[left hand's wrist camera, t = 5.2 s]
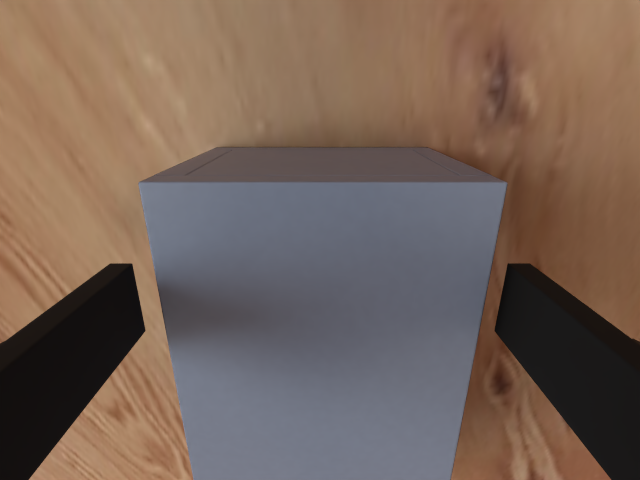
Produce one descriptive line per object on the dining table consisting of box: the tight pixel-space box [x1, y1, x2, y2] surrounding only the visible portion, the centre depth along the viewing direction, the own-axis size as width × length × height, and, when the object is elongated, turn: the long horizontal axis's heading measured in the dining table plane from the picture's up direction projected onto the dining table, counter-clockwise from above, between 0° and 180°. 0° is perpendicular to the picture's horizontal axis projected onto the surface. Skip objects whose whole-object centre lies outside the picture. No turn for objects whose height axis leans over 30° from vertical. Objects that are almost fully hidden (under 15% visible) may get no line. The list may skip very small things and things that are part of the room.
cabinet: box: [139, 147, 507, 480], centre depth 17 cm, size 18×11×8 cm, turn 0°
